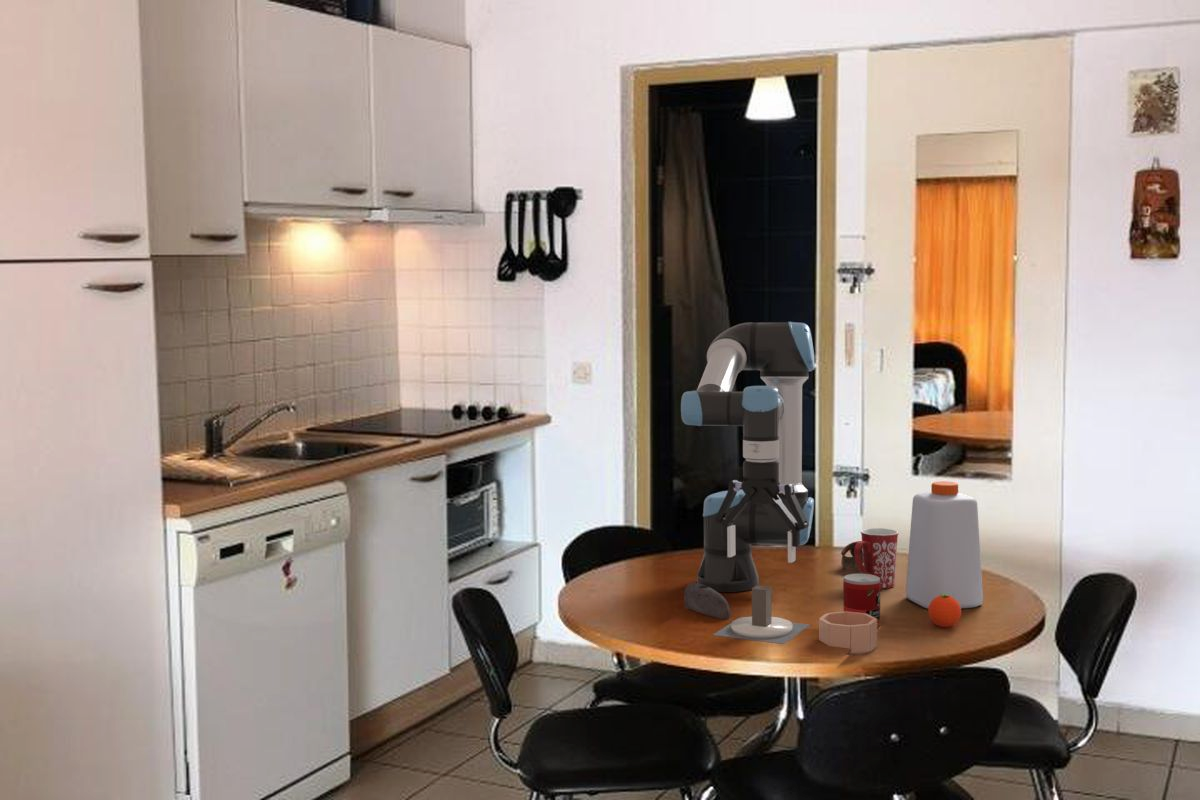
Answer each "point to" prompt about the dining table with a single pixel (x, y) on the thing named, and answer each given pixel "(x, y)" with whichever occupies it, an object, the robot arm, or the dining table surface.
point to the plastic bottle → (944, 547)
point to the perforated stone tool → (706, 601)
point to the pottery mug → (850, 560)
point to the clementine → (944, 610)
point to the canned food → (862, 594)
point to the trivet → (781, 640)
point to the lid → (761, 618)
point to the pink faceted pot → (849, 631)
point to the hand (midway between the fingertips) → (761, 559)
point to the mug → (878, 554)
